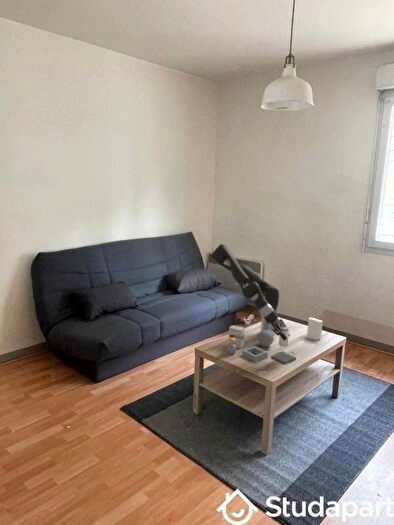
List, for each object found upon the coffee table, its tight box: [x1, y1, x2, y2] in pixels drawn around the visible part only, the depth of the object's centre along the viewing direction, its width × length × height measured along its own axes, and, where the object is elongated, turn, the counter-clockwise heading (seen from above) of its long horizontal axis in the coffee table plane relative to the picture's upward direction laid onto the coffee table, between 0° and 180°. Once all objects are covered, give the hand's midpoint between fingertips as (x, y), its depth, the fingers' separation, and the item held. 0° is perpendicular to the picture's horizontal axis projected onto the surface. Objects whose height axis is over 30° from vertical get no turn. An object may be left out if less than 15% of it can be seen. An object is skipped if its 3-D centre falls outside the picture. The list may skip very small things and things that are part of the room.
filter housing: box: [226, 344, 269, 363], centre depth 225 cm, size 16×19×5 cm
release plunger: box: [228, 337, 236, 344], centre depth 226 cm, size 4×4×2 cm
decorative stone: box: [256, 330, 274, 348], centre depth 238 cm, size 10×10×10 cm
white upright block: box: [306, 317, 323, 340], centre depth 255 cm, size 9×9×12 cm
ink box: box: [227, 324, 246, 349], centre depth 237 cm, size 8×5×12 cm, turn 62°
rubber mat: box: [270, 351, 297, 365], centre depth 222 cm, size 10×10×1 cm
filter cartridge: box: [278, 326, 290, 348], centre depth 219 cm, size 5×5×10 cm
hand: (287, 338), depth 219 cm, fingers closed on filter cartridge, 5 cm apart
